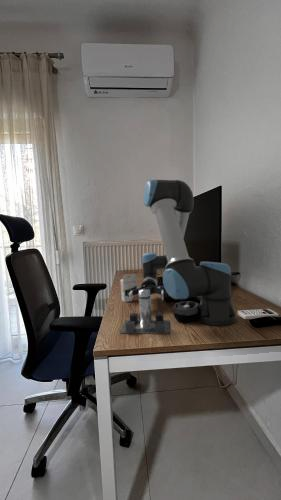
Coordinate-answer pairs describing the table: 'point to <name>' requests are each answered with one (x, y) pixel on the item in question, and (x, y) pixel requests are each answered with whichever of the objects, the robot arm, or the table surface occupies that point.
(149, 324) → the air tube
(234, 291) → the table surface
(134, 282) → the ink cartridge box
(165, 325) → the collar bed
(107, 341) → the table surface
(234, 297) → the table surface
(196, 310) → the cpu cooler
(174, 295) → the robot arm
